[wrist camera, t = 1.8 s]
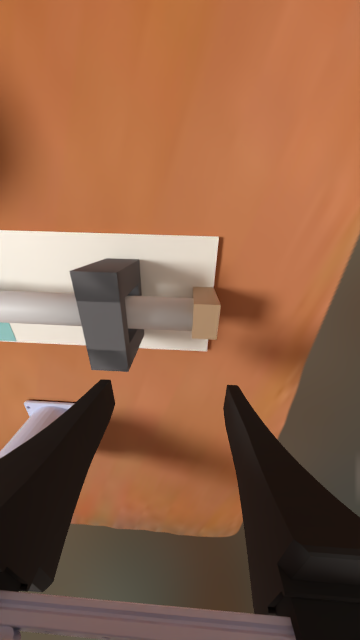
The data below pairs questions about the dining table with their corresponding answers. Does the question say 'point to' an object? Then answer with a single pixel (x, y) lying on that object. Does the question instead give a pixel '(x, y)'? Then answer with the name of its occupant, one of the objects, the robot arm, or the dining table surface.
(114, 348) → the collar
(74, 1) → the dining table surface
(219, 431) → the dining table surface
